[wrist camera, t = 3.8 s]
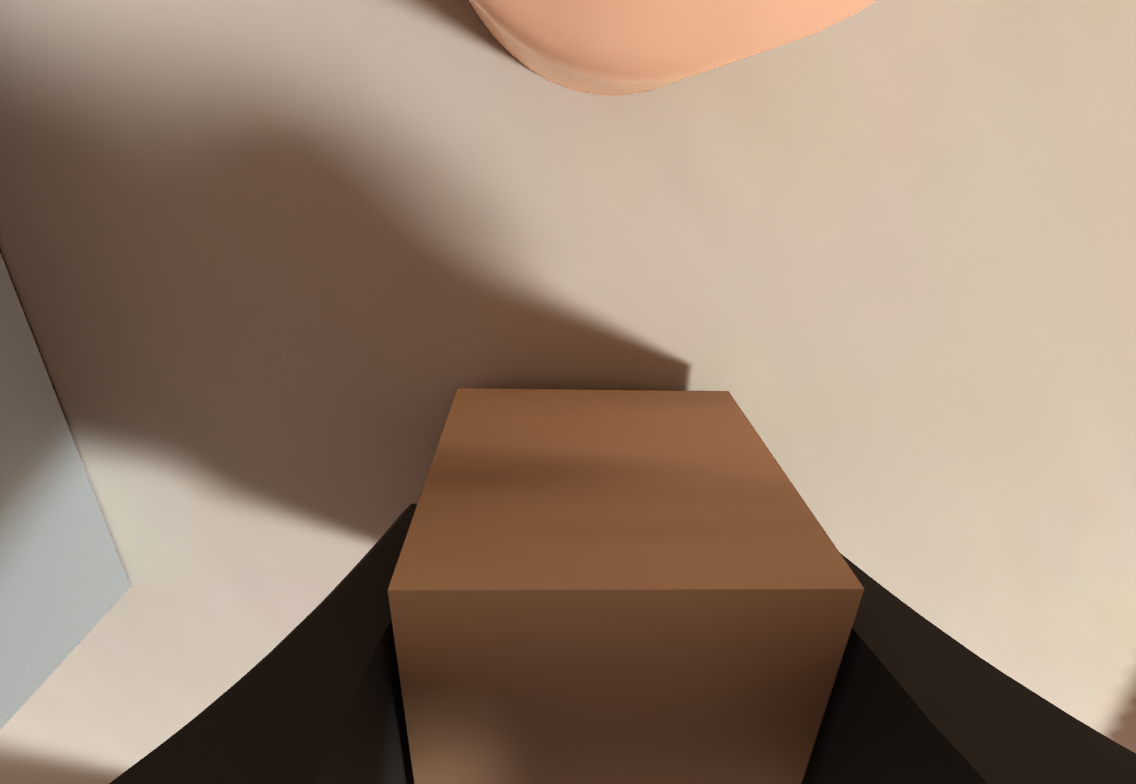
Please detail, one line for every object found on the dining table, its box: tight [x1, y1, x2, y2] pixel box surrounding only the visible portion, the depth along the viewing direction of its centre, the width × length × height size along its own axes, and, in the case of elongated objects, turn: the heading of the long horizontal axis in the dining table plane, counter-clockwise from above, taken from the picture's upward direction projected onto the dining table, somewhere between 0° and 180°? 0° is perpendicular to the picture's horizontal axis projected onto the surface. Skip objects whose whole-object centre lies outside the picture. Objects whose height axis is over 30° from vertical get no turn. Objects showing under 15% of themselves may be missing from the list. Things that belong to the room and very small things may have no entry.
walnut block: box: [388, 388, 864, 784], centre depth 9 cm, size 5×5×5 cm
